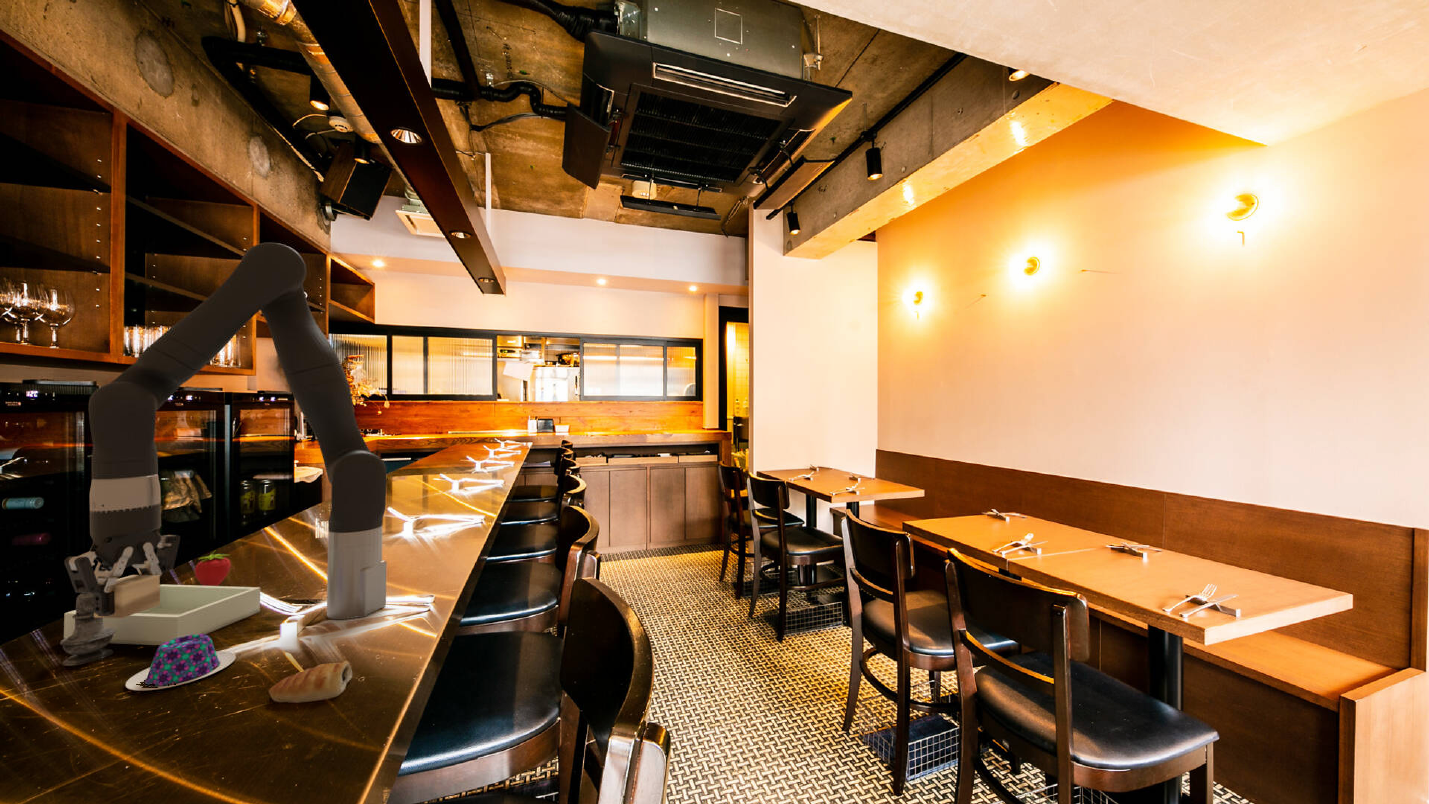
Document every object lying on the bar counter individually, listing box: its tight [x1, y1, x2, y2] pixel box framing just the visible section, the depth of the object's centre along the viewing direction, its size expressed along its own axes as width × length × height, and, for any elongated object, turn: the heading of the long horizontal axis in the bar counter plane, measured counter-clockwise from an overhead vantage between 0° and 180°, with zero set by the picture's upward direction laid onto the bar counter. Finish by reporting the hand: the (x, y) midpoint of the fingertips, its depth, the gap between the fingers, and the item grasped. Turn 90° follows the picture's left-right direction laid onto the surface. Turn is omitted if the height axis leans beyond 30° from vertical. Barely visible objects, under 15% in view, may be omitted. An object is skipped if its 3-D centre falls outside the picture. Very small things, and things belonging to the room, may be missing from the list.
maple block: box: [94, 574, 161, 618], centre depth 82 cm, size 5×5×5 cm
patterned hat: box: [125, 634, 237, 691], centre depth 80 cm, size 12×12×5 cm
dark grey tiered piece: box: [59, 593, 116, 667], centre depth 84 cm, size 6×6×12 cm
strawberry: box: [194, 551, 232, 586], centre depth 115 cm, size 6×8×10 cm
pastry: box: [268, 660, 353, 704], centre depth 74 cm, size 9×7×4 cm
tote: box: [63, 584, 261, 646], centre depth 97 cm, size 22×15×5 cm
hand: (128, 607), depth 82 cm, fingers closed on maple block, 5 cm apart
